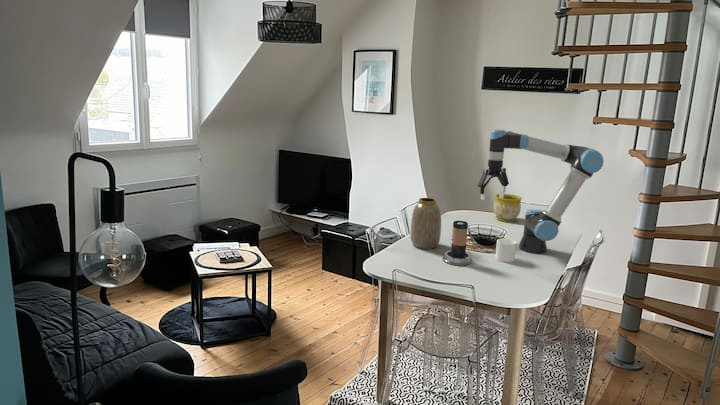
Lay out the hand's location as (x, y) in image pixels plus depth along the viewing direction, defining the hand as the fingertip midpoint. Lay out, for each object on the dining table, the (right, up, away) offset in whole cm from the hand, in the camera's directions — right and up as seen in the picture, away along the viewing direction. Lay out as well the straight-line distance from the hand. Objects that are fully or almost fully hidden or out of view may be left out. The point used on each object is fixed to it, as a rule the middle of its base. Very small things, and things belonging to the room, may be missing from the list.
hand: (492, 198), depth 280 cm
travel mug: (-19, -32, -4) cm, 37 cm away
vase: (-33, -27, +21) cm, 48 cm away
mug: (+8, -33, +2) cm, 34 cm away
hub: (-19, -33, -3) cm, 38 cm away
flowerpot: (+30, -14, +83) cm, 90 cm away
